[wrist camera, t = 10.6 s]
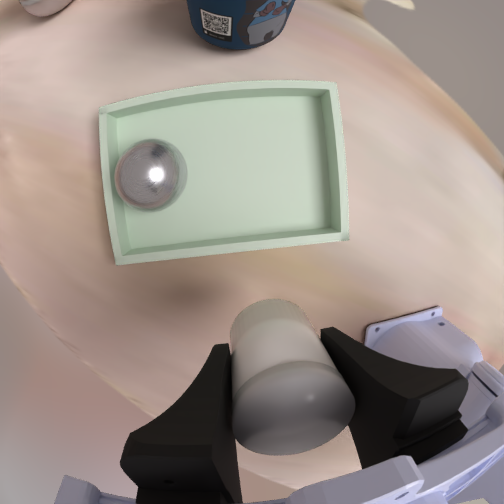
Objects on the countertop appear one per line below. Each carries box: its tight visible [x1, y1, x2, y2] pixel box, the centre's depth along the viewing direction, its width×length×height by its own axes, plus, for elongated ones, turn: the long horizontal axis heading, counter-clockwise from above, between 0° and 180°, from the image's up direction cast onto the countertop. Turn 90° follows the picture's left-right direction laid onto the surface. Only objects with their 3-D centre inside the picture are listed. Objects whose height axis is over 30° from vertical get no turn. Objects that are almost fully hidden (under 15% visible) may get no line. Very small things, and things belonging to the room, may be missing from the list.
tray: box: [99, 80, 349, 265], centre depth 17 cm, size 16×11×2 cm
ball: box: [114, 138, 188, 213], centre depth 15 cm, size 5×5×5 cm
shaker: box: [230, 299, 355, 455], centre depth 11 cm, size 4×4×6 cm
